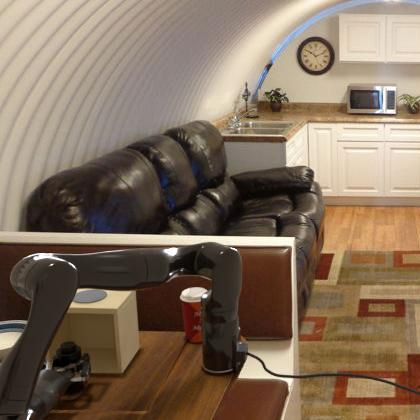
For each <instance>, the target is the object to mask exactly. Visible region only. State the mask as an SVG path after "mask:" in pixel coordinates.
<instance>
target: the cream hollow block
mask: <svg viewBox="0 0 420 420" xmlns="http://www.w3.org/2000/svg"><path fill="white" fill-rule="evenodd" d="M69 341H72V342H75V343H76V345H78V346H80V347H81V354H82V355H83V354H84V353H88V355H90V362H91V374H123V373H124V371H125V370H126V368H127V367H128V366H129V364H130V363H131V361H132V360H133V358H134V357H135V355H136V354H137V352H138V351H139V349H140V348H141V347H140V334H139V318H138V304H137V291H110V290H99V289H78V290H77V292H76V295H75V297H74V299H73V301H72V303H71V305H70V307H69V309H68V311H67V313H66V315H65V317H64V319H63V321H62V323H61V326H60V328H59V330H58V332H57V334H56V336H55V338H54V340H53V342H52V344H51V346H50V349H49V351H48V353H47V355H46V358H45V362H47V361H48V360H50V359H52V358H53V357H54V356H55V355H56V351H57V349H59V348H60V345H61V344H62V343H64V342H69Z"/></svg>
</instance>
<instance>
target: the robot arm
mask: <svg viewBox="0 0 420 420" xmlns="http://www.w3.org/2000/svg"><path fill="white" fill-rule="evenodd" d="M9 275H10V276H9V282H10V284H11V287H12V288H13V290H14V291H16V293H17V294H19V296H21V297H23V298H24V299H26V300H28V301H30V302H31V303H30V309H29V315H28V318H27V321H26V324H25V326H24V328H23V330H22V331H21V334H20V336H19V337H18V338H17V340H16V341H15V343H14V344H13V345H12V346H11V348H10V349H9V350H8V351H7V352H6V354H5V356H4V357H3V359H2V360H1V362H0V420H43V419H44V417H46V416H47V415H48V414H50V412H51V411H52V410H53V409H54V407H55V406H56V405H57V403H58V402H59V401H60V400H61V399H62V398H63V396H64V395H65V394H66V390H67V388H68V386H69V385H71V384H73V383H74V382H75V381H81V383H82V384H84V385H86V384H88V382H89V379H90V376H91V374H92V373H91V362H90V355H88V353H84V354H83V355H82V357H81V358H80V359H79V361H77V362H75V363H70V364H68V365H67V366H65V367H57V359H56V355H55V356H54V357H53V358H52V359H50V360H48V361H47V362H46V355H47V353H48V351H49V349H50V346H51V344H52V342H53V340H54V338H55V336H56V334H57V332H58V330H59V328H60V326H61V323H62V321H63V319H64V317H65V315H66V313H67V311H68V309H69V307H70V305H71V303H72V301H73V299H74V297H75V295H76V292H77V290H78V289H99V290H110V291H136V292H138V291H145V290H152V289H156V288H160V287H162V286H164V285H166V284H167V283H169V282H170V281H171V280H174V279H175V278H178V277H179V278H180V277H201V278H204V279H207V280H209V281H211V289H208V290H207V291H206V292H205V293H203V294H202V296H201V328H202V341H201V350H202V351H201V352H202V353H201V354H202V355H201V356H202V364H201V365H202V370H203V371H204V372H205V373H208V374H210V375H218V376H219V375H227V374H231V373H235V372H238V371H239V368H240V366H241V363H246V361H247V358H248V357H251V358H253V359H255V360H257V361H258V362H259V363H260V364H261V366H262V369H263V370H264V372H266V373H267V374H269V375H271V376H272V377H275V378H276V377H277V378H284V379H296V380H297V379H298V380H299V379H310V378H322V377H324V378H325V377H348V378H350V377H351V378H359V379H367V380H372V381H376V382H381V383H384V384H388V385H390V386H394V387H396V388H399V389H401V390H405V391H407V392H409V393H413V394H415V395H419V396H420V391H419V390H416V389H413V388H411V387H408V386H405V385H403V384H398V383H397V382H394V381H391V380H387V379H385V378H380V377H376V376H372V375H371V376H370V375H365V374H360V373H359V374H358V373H346V372H332V373H331V372H330V373H311V374H303V375H297V374H296V375H294V374H281V373H276V372H274V371H272V370H270V369H268V368H267V366H266V363H265V362H264V360H263V359H262V358H260V357H259V356H257V355H256V354H253V353H251V352H249V343H248V342H246V343H245V342H243V343H242V328H241V327H240V317H239V316H240V315H239V314H240V313H239V311H240V309H239V299H240V297H241V294H242V289H243V288H242V285H243V259H242V255H241V253H240V252H239V250H237V249H236V248H234V247H231V246H229V245H225V244H223V243H219V242H216V241H204V242H199V243H194V244H189V245H183V246H176V247H171V246H167V247H166V246H163V247H139V248H128V249H127V248H126V249H118V250H108V251H107V250H106V251H101V252H100V251H99V252H94V253H93V252H92V253H83V254H82V253H81V254H78V253H77V254H73V253H45V252H40V253H33V254H30V255H27V256H26V257H23V258H22V259H21V260H19V261H18V262H17V263H16V264H15V265H14V266H13V267H12V270H11V272H10V274H9ZM77 367H78V368H79V369H77Z"/></svg>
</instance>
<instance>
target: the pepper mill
mask: <svg viewBox="0 0 420 420" xmlns="http://www.w3.org/2000/svg"><path fill="white" fill-rule="evenodd" d="M81 357H82V354H81V347H80V346H78V345H76V343H75V342H72V341H69V342H64V343H62V344H61V345H60V348H59V349H57V351H56V359H57V367H65V366H67V365H68V364H70V363H75V362H77V361H79V359H80V358H81ZM77 369H79V368H78V367H77ZM84 386H85V384H82V383H81V381H75V382H74V383H73V384H71V385H69V386H68V388H67V390H66V392H65V394H67V393H74V392H78V391H80V390H82V389H83V387H84Z"/></svg>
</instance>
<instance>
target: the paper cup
mask: <svg viewBox="0 0 420 420" xmlns="http://www.w3.org/2000/svg"><path fill="white" fill-rule="evenodd" d="M206 291H208V290H207V289H205V287H197V286H196V287H188V288H186V289H184V290H182V291H181V294H180V296H179V299H180V300H181V309H182V316H183V317H182V318H183V325H184V334H185V338H186V341H187V342H188V343H192V344H193V343H194V344H196V343H202V328H201V296H202V294H203V293H205V292H206Z"/></svg>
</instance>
